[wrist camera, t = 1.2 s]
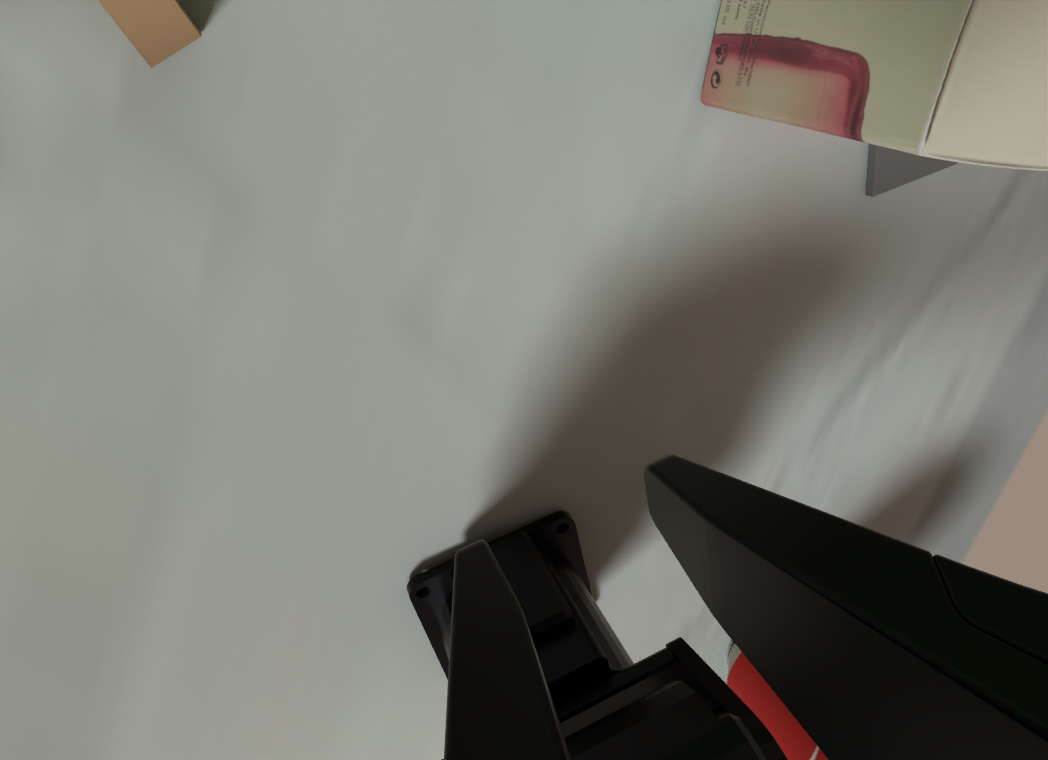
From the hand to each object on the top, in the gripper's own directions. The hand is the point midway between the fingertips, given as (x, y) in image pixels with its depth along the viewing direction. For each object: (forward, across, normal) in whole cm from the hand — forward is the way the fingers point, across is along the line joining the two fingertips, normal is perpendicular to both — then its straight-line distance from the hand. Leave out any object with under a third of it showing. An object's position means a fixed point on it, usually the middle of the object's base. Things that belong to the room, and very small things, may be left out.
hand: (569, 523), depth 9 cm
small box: (+12, -13, -2) cm, 18 cm away
